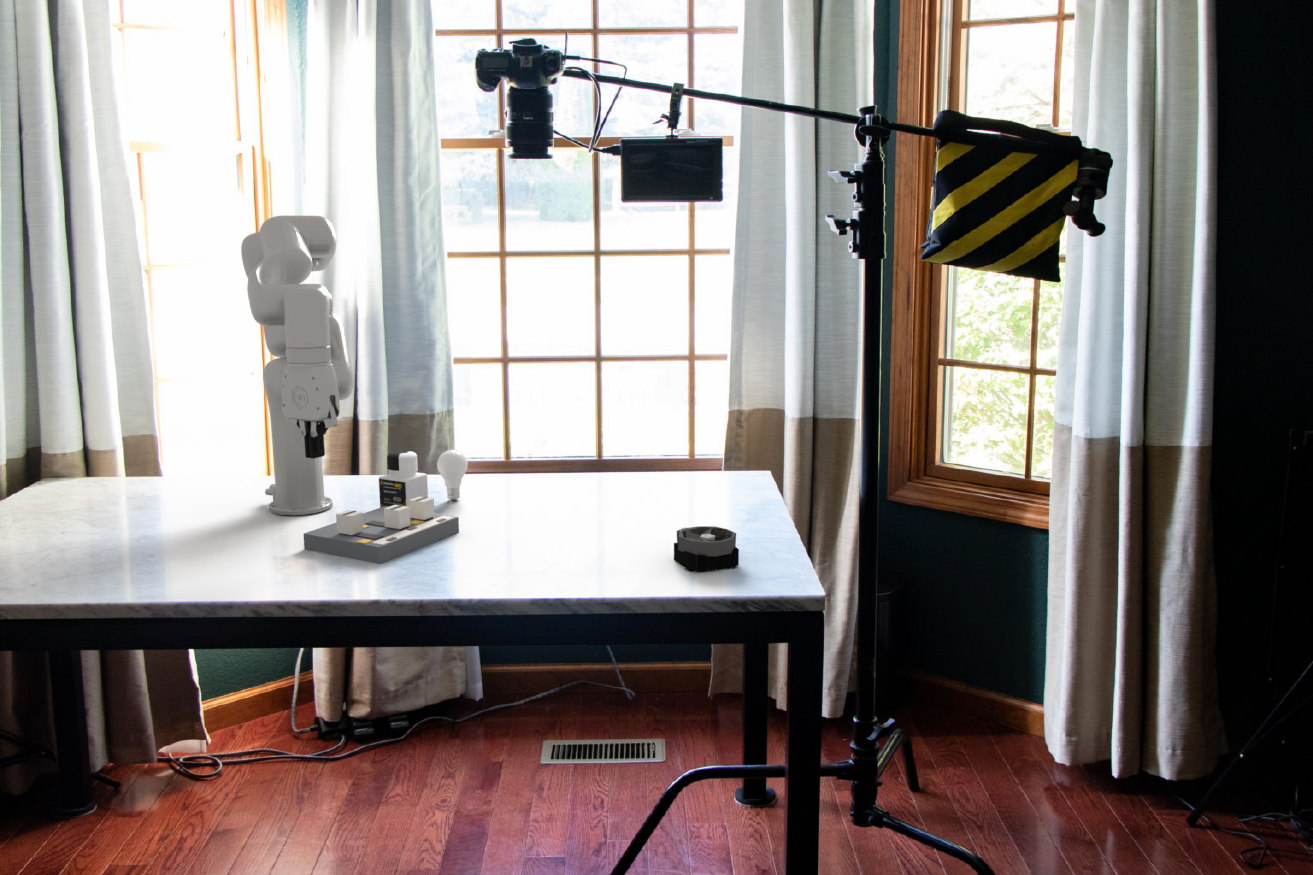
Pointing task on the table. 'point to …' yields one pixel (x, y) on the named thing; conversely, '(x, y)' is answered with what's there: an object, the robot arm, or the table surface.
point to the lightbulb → (452, 471)
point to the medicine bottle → (402, 480)
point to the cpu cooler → (706, 549)
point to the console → (380, 537)
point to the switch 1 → (349, 522)
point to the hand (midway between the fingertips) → (315, 456)
